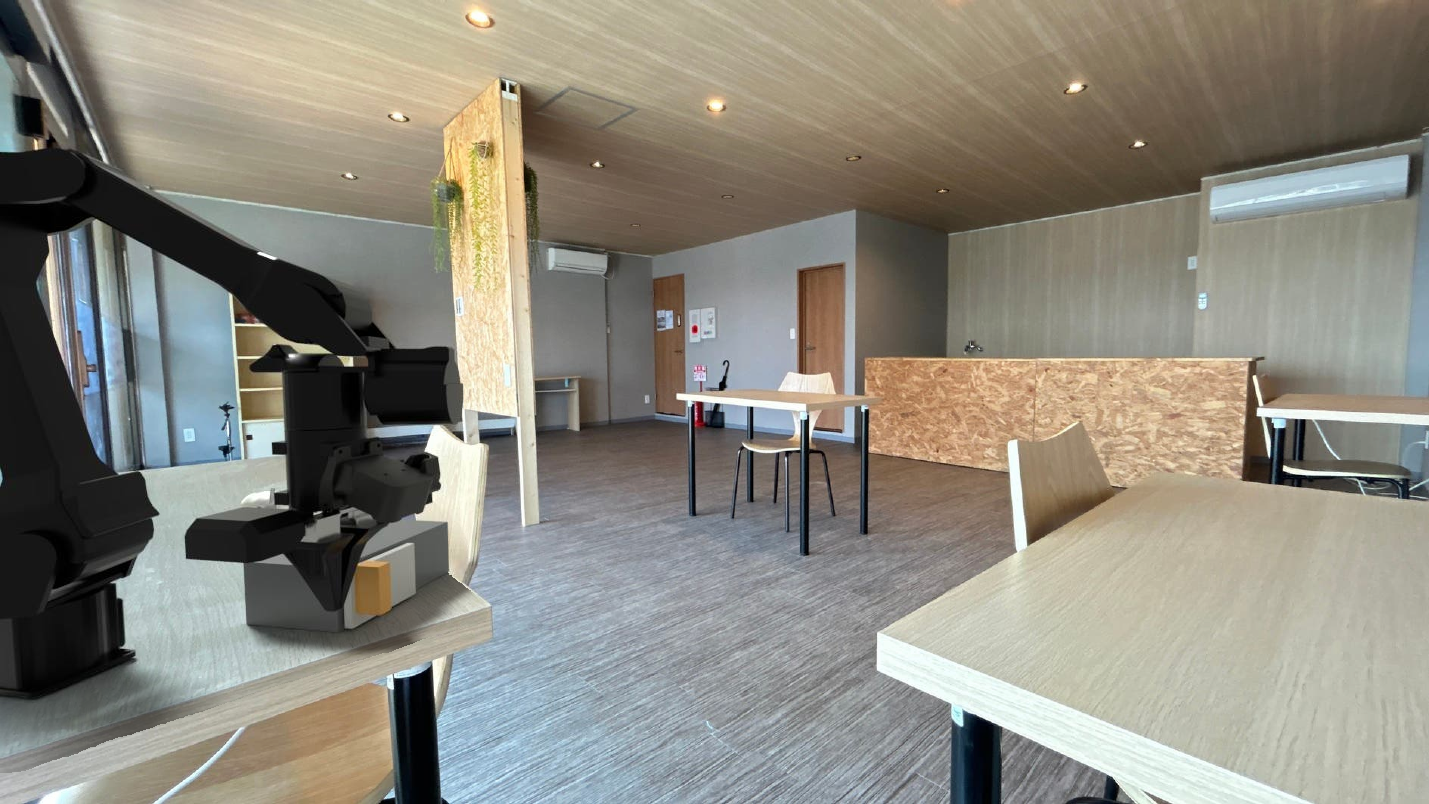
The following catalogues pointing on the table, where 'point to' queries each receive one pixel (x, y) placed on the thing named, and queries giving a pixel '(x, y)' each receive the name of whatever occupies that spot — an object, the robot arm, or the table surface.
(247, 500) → the milkshake
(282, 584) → the block
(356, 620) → the side door
